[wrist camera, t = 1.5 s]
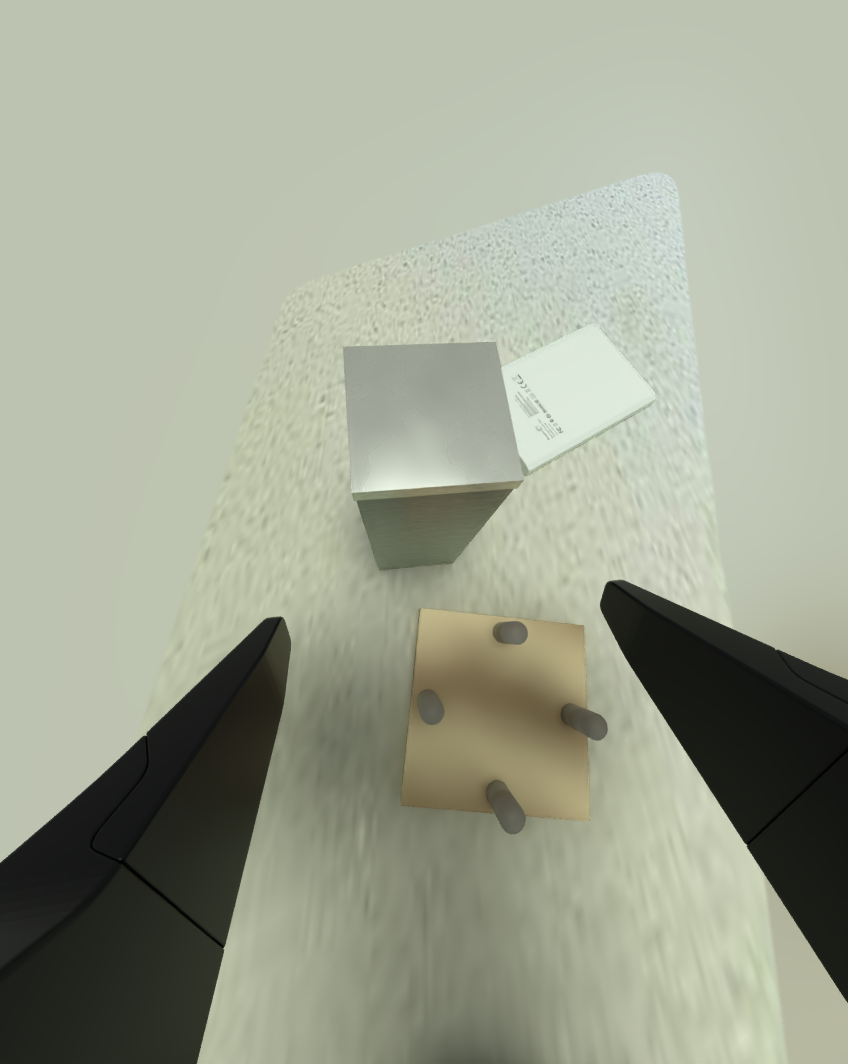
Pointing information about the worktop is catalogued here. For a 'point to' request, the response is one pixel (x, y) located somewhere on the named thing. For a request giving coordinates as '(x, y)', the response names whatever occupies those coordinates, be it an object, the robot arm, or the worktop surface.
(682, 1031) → the worktop surface
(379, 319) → the worktop surface
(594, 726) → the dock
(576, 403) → the external hard drive
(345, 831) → the worktop surface
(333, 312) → the worktop surface
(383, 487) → the tower
